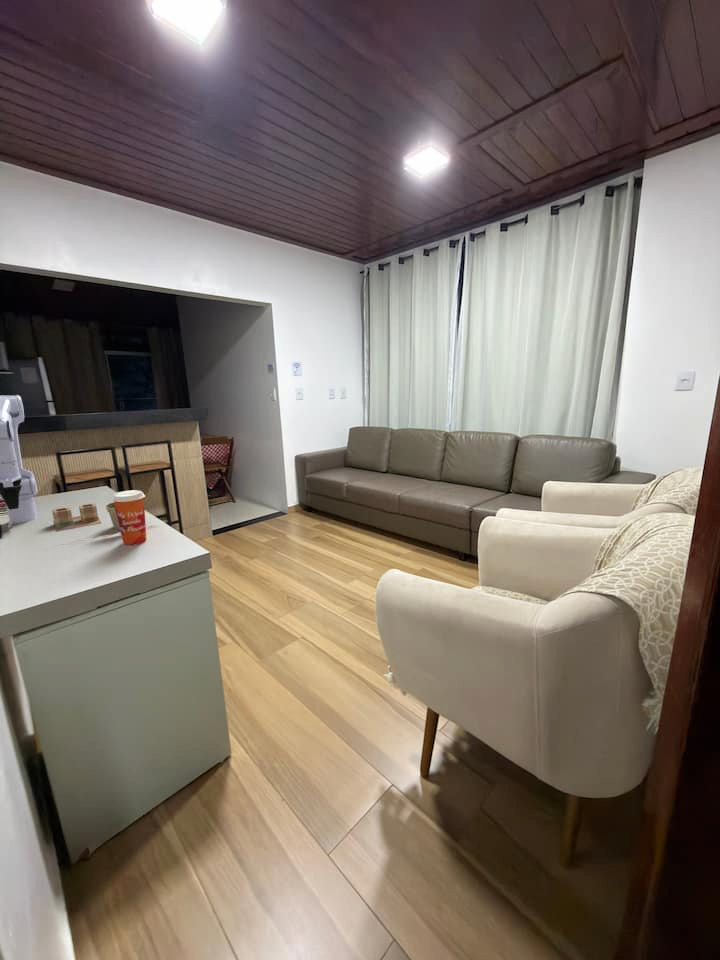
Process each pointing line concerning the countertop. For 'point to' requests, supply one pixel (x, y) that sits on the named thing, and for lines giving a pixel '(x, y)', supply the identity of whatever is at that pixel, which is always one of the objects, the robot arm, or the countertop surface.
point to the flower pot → (113, 514)
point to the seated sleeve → (88, 512)
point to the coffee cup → (131, 516)
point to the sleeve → (62, 516)
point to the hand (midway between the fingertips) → (13, 506)
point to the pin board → (77, 524)
